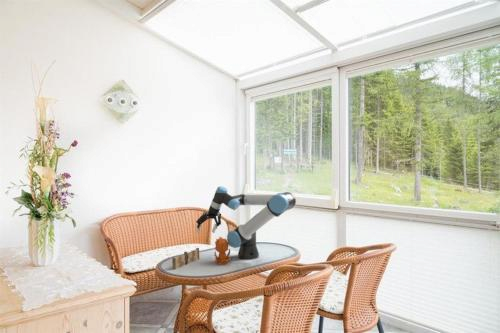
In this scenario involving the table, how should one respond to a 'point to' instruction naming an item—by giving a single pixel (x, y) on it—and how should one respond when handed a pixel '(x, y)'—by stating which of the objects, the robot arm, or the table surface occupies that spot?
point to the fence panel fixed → (179, 261)
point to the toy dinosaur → (222, 251)
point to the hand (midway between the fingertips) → (205, 232)
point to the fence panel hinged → (193, 255)
